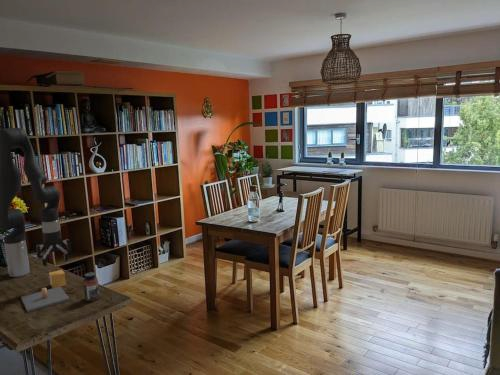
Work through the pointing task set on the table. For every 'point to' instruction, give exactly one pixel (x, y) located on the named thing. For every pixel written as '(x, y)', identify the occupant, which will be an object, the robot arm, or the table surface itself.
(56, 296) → the thin gray plate
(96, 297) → the supplement bottle
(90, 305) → the table surface
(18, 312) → the table surface
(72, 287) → the table surface
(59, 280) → the mustard foam cube
